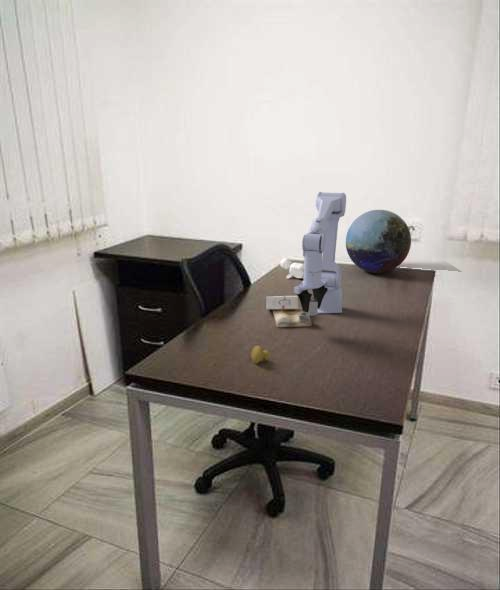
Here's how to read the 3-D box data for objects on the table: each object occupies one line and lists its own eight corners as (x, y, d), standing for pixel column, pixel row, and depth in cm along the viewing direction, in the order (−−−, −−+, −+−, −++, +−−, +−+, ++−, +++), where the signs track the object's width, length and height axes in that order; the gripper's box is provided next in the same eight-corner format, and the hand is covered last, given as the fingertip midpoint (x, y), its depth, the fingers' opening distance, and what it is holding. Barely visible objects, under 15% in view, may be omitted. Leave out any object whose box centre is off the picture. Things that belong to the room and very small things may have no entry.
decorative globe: (416, 280, 211) (423, 215, 201) (350, 281, 212) (354, 215, 202) (397, 263, 239) (403, 205, 230) (339, 263, 240) (342, 205, 230)
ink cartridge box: (267, 295, 179) (306, 295, 177) (267, 308, 179) (306, 308, 177) (266, 296, 170) (306, 295, 169) (266, 309, 170) (306, 309, 169)
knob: (256, 366, 134) (256, 351, 132) (249, 359, 138) (249, 344, 137) (270, 363, 136) (271, 348, 134) (263, 356, 140) (263, 341, 139)
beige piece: (304, 312, 174) (304, 300, 173) (311, 326, 161) (312, 314, 160) (272, 313, 174) (272, 301, 172) (277, 328, 161) (277, 315, 159)
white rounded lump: (308, 282, 220) (281, 267, 224) (315, 267, 216) (287, 252, 220) (301, 287, 213) (274, 272, 217) (308, 271, 209) (280, 256, 213)
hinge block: (315, 311, 156) (315, 296, 155) (317, 315, 153) (317, 300, 151) (304, 312, 156) (305, 296, 154) (306, 315, 153) (307, 300, 151)
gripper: (319, 264, 157) (317, 301, 161) (287, 271, 148) (286, 311, 153) (335, 268, 152) (332, 307, 156) (303, 276, 143) (301, 317, 148)
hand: (311, 309), depth 154 cm, fingers closed on hinge block, 5 cm apart
